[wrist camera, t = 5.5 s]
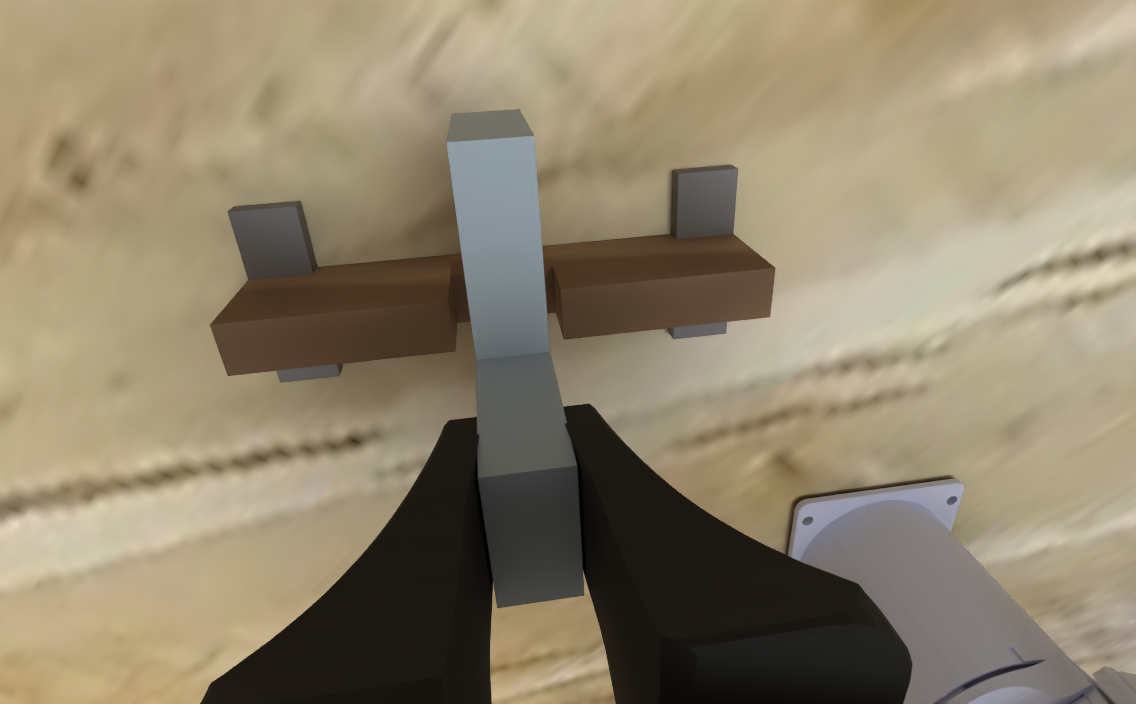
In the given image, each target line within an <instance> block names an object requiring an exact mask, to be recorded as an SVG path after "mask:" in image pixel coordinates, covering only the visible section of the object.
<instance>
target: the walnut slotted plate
mask: <svg viewBox="0 0 1136 704" xmlns="http://www.w3.org/2000/svg"><path fill="white" fill-rule="evenodd" d="M737 175H738V168H736V167H734V166H732V165H726V166H714V167H702V168H690V169H678V170H673V195H672V234H668V235H658V236H647V237H636V238H626V239H615V240H605V241H594V242H583V243H573V244H562V245H551V246H542V250H543V264H544V278H545V292H546V305H547V313H554V312H556V315H557V318H558V321H559V325H560V328H561V332H562V335H563V338H564V339H572V338H582V337H591V336H600V335H609V334H619V333H628V332H637V331H646V330H655V329H665V328H669V333H670V334H671V336H672V338H673V339H680V338H689V337H698V336H707V335H716V334H725V333H726V327H727V322H729V321H738V320H748V319H757V318H766V317H770V313H771V303H772V294H773V285H774V275H775V267H774V266H772V265H771V264H770V263H769V262H767V261H766V260H765V259H764V258H762V257H761V256H760V255H759V254H757V253H756V252H755V251H754V250H752V249H751V248H750V247H749V246H747V245H746V244H745V243H744V242H743V241H741V240H740V239H739V238H738V237H736V236H735V235H734V234H733V230H734V216H735V203H736V189H737ZM228 215H229V218H230V221H231V225H232V228H233V231H234V234H235V238H236V241H237V244H238V247H239V251H240V254H241V257H242V260H243V264H244V267H245V270H246V273H247V276H248V281H247V282H246V284H245V285H244V286H243V287H242V288H241V289H240V291H239V292H238V293H237V294H236V295H235V296H234V297H233V299H232V300H231V301H230V302H229V303H228V304H227V306H226V307H225V308H224V309H223V310H222V311H221V313H220V314H219V315H218V316H217V317H216V318H215V320H214V321H213V322H212V323H211V324H210V327H211V329H212V332H213V335H214V338H215V341H216V344H217V346H218V349H219V352H220V355H221V358H222V361H223V364H224V366H225V369H226V372H227V375H228V376H232V375H241V374H250V373H259V372H268V371H277V374H278V377H279V380H280V383H281V382H290V381H299V380H308V379H317V378H326V377H335V376H340V373H341V370H342V363H351V362H361V361H370V360H379V359H388V358H397V357H407V356H416V355H425V354H434V353H444V352H453V351H456V330H457V323H458V322H468V321H471V320H470V312H469V305H468V298H467V290H466V283H465V275H464V268H463V261H462V254H456V255H445V256H434V257H424V258H413V259H402V260H392V261H381V262H370V263H360V264H349V265H338V266H328V267H317V265H316V261H315V257H314V253H313V249H312V245H311V241H310V237H309V233H308V229H307V225H306V221H305V217H304V213H303V209H302V205H301V201H297V202H285V203H273V204H261V205H249V206H237V207H233V208H232V209H231V210H229V211H228Z"/></svg>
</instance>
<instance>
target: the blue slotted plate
mask: <svg viewBox="0 0 1136 704" xmlns="http://www.w3.org/2000/svg"><path fill="white" fill-rule="evenodd" d="M446 143H447V150H448V158H449V165H450V173H451V180H452V187H453V195H454V202H455V209H456V217H457V224H458V231H459V239H460V246H461V253H462V261H463V268H464V275H465V283H466V290H467V298H468V305H469V312H470V320H471V327H472V334H473V342H474V349H475V356H476V394H477V434H479V442H478V450H477V457H478V482H479V489H480V496H481V503H482V509H483V516H484V523H485V529H486V536H487V543H488V549H489V556H490V563H491V569H492V576H493V583H494V590H495V596H496V603H497V608H502V607H509V606H516V605H522V604H529V603H536V602H543V601H550V600H556V599H563V598H570V597H577V596H584V581H583V563H582V545H581V527H580V509H579V490H578V472H577V463H576V459H575V454H574V450H573V446H572V442H571V439H570V436H569V434H568V431H567V429H566V426H565V423H567V421H566V417H565V413H564V409H563V404H562V400H561V396H560V392H559V388H558V384H557V379H556V375H555V371H554V367H553V363H552V359H551V354H550V347H549V333H548V319H547V305H546V292H545V278H544V264H543V250H542V237H541V223H540V209H539V195H538V182H537V168H536V154H535V140H534V135H533V133H532V131H531V129H530V127H529V126H528V124H527V122H526V120H525V118H524V117H523V115H522V113H521V111H520V109H516V110H502V111H488V112H474V113H460V114H452V117H451V122H450V127H449V132H448V137H447V142H446Z"/></svg>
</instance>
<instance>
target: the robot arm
mask: <svg viewBox="0 0 1136 704" xmlns="http://www.w3.org/2000/svg"><path fill="white" fill-rule="evenodd" d="M563 409H564V413H565V417H566V421H567V423H565V426H566V429H567V431H568V434H569V436H570V439H571V442H572V446H573V450H574V454H575V459H576V463H577V472H578V490H579V509H580V527H581V545H582V563H583V571H584V575H585V578H586V581H587V585H588V588H589V592H590V595H591V598H592V602H593V605H594V609H595V612H596V615H597V619H598V622H599V626H600V629H601V633H602V637H603V641H604V645H605V649H606V654H607V660H608V665H609V670H610V675H611V680H612V686H613V691H614V696H615V701H616V704H1136V674H1131V673H1126V672H1121V671H1120V672H1117V671H1115V670H1114V669H1112V668H1111V667H1103V668H1101V669H1100V670H1098V671H1097V672H1095V673H1094V674H1092V675H1093V676H1094V678H1095V680H1096V681H1097V682H1096V681H1095V680H1094V679H1093V678H1092V677H1090V676H1089V675H1088V674H1087V673H1086V672H1084V671H1083V670H1082V669H1081V668H1080V667H1079V666H1077V665H1076V664H1075V663H1074V662H1073V661H1072V660H1071V659H1070V658H1069V657H1068V656H1067V655H1066V654H1065V653H1064V652H1063V651H1062V650H1061V649H1060V648H1059V647H1058V646H1057V645H1056V644H1055V642H1054V641H1053V640H1052V639H1051V638H1050V637H1049V636H1048V635H1047V634H1046V633H1045V632H1044V631H1043V630H1042V629H1041V628H1040V627H1039V625H1038V624H1037V623H1036V622H1035V621H1034V620H1033V619H1032V618H1031V617H1030V616H1029V615H1028V614H1027V613H1026V612H1025V611H1024V610H1023V608H1022V607H1021V606H1020V605H1019V604H1018V603H1017V602H1016V601H1015V600H1014V599H1013V598H1012V597H1011V596H1010V595H1009V594H1008V593H1007V592H1006V590H1005V589H1004V588H1003V587H1002V586H1001V585H1000V584H999V583H998V582H997V581H996V580H995V579H994V578H993V577H992V576H991V575H990V573H989V572H988V571H987V570H986V569H985V568H984V567H983V566H982V565H981V564H980V563H979V562H978V561H977V560H976V559H975V558H974V557H973V555H972V554H971V553H970V552H969V551H968V550H967V549H966V548H965V547H964V546H963V545H962V544H961V543H960V542H959V541H958V540H957V538H956V537H955V536H954V535H953V534H952V533H951V530H952V527H953V524H954V521H955V517H956V514H957V511H958V508H959V504H960V501H961V498H962V495H963V491H964V486H963V484H962V483H961V482H960V481H959V480H957V479H947V480H940V481H932V482H925V483H918V484H911V485H903V486H896V487H889V488H882V489H874V490H867V491H860V492H853V493H846V494H838V495H831V496H824V497H817V498H809V499H804V500H802V501H800V502H799V503H798V504H797V505H796V508H795V512H794V519H793V525H792V532H791V538H790V545H789V552H788V556H787V555H785V554H783V553H781V552H779V551H776V550H774V549H772V548H770V547H768V546H766V545H764V544H762V543H760V542H758V541H756V540H754V539H752V538H750V537H748V536H746V535H744V534H743V533H741V532H739V531H738V530H736V529H734V528H732V527H731V526H729V525H727V524H725V523H724V522H722V521H720V520H718V519H717V518H715V517H714V516H712V515H711V514H709V513H707V512H706V511H704V510H703V509H701V508H700V507H699V506H697V505H696V504H694V503H693V502H691V501H690V500H689V499H687V498H686V497H685V496H683V495H682V494H681V493H679V492H678V491H677V490H676V489H674V488H673V487H672V486H671V485H669V484H668V483H667V482H666V481H665V480H663V479H662V478H661V477H660V476H659V475H658V474H656V473H655V472H654V471H653V470H652V469H651V468H650V467H649V466H648V465H647V464H645V463H644V462H643V461H642V460H641V459H640V458H639V457H638V456H637V455H636V454H635V453H634V452H633V451H632V450H631V449H630V448H629V447H628V446H627V445H626V444H625V443H624V442H623V441H622V440H621V438H620V437H619V436H618V435H617V434H616V433H615V432H614V431H613V430H612V429H611V427H610V426H609V425H608V424H607V423H606V422H605V420H604V419H603V418H602V417H601V415H600V414H599V413H598V412H597V410H596V409H595V408H594V407H593V406H592V405H590V404H582V405H574V406H566V407H563ZM478 442H479V434H477V417H473V418H465V419H456V420H449V421H448V422H447V423H446V425H445V426H444V428H443V430H442V433H441V435H440V437H439V439H438V441H437V444H436V446H435V448H434V450H433V451H432V453H431V455H430V457H429V459H428V461H427V463H426V465H425V466H424V468H423V470H422V471H421V473H420V475H419V476H418V478H417V480H416V482H415V483H414V485H413V487H412V488H411V490H410V491H409V493H408V494H407V496H406V497H405V499H404V500H403V502H402V503H401V505H400V506H399V507H398V509H397V510H396V512H395V513H394V515H393V516H392V518H391V519H390V520H389V522H388V523H387V524H386V526H385V527H384V528H383V530H382V531H381V532H380V534H379V535H378V536H377V537H376V539H375V540H374V541H373V542H372V543H371V545H370V546H369V547H368V548H367V549H366V551H365V552H364V553H363V554H362V555H361V556H360V558H359V559H358V560H357V561H356V562H355V563H354V564H353V565H352V566H351V567H350V568H349V569H348V570H347V572H346V573H345V574H344V575H343V576H342V577H341V578H340V579H339V580H338V581H337V582H336V583H335V584H334V585H333V586H332V587H331V588H330V589H329V590H328V591H327V592H326V593H325V594H324V595H323V596H322V597H321V598H320V599H318V600H317V601H316V602H315V603H314V604H313V605H312V606H311V607H309V608H308V609H307V610H306V611H305V612H304V613H303V614H302V615H300V616H299V617H298V618H297V619H296V620H294V621H293V622H292V623H291V624H290V625H288V626H287V627H286V628H285V629H284V630H282V631H281V632H280V633H279V634H277V635H276V636H275V637H274V638H272V639H271V640H270V641H269V642H267V643H266V644H265V645H263V646H262V647H260V648H259V649H258V650H256V651H255V652H254V653H252V654H251V655H250V656H248V657H247V658H245V659H244V660H243V661H241V662H240V663H239V664H237V665H236V666H235V667H233V668H232V669H230V670H229V671H228V672H226V673H225V674H224V675H222V676H221V677H219V678H218V679H216V680H215V681H213V682H212V683H211V684H210V685H209V687H208V690H207V692H206V694H205V696H204V698H203V700H202V702H201V703H200V704H492V702H491V681H490V634H491V613H492V592H493V576H492V569H491V563H490V556H489V549H488V543H487V536H486V529H485V523H484V516H483V509H482V503H481V496H480V489H479V482H478V457H477V450H478ZM806 517H807V518H806ZM804 518H806V519H804Z"/></svg>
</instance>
